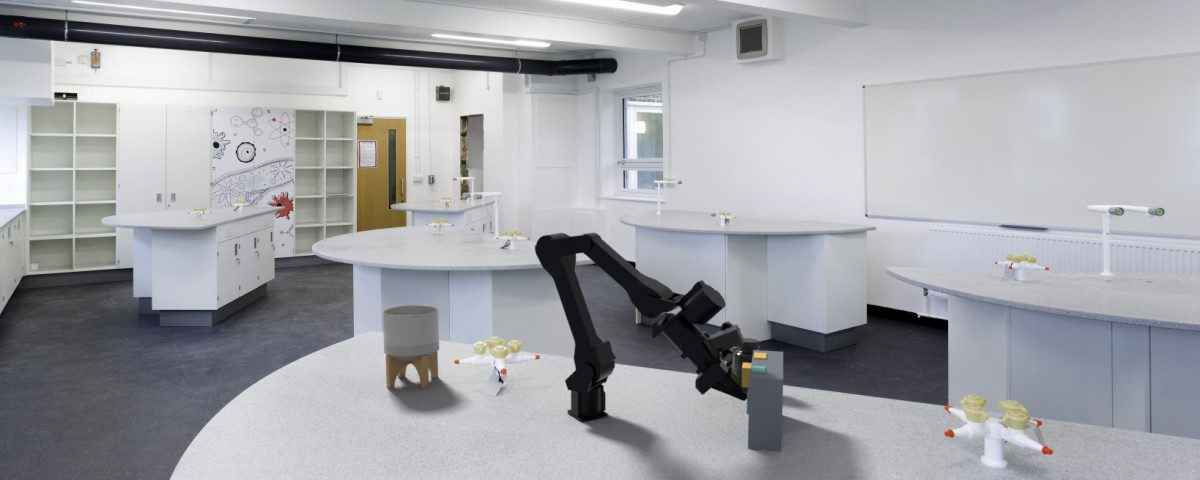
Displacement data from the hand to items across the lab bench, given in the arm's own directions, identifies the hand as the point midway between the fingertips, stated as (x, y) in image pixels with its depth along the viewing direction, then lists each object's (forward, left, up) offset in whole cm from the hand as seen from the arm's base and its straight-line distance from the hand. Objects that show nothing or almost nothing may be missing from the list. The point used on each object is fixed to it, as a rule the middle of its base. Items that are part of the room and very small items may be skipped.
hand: (746, 399), depth 135 cm
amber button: (+7, +7, 0) cm, 10 cm away
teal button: (+1, -1, -2) cm, 3 cm away
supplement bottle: (+20, +22, -8) cm, 31 cm away
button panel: (+6, +1, -8) cm, 10 cm away
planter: (-45, +69, -8) cm, 82 cm away
